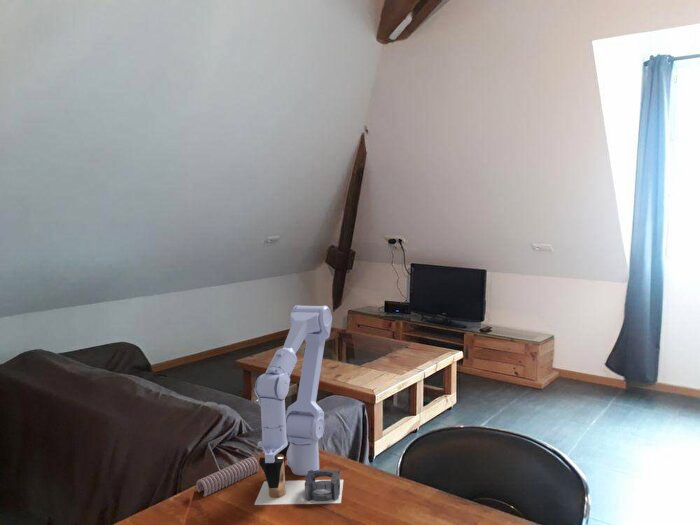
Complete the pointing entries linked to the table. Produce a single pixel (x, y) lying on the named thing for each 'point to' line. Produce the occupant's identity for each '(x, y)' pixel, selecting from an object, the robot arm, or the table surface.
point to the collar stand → (322, 485)
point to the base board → (293, 494)
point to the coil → (227, 476)
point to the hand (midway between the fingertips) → (276, 480)
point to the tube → (281, 488)
